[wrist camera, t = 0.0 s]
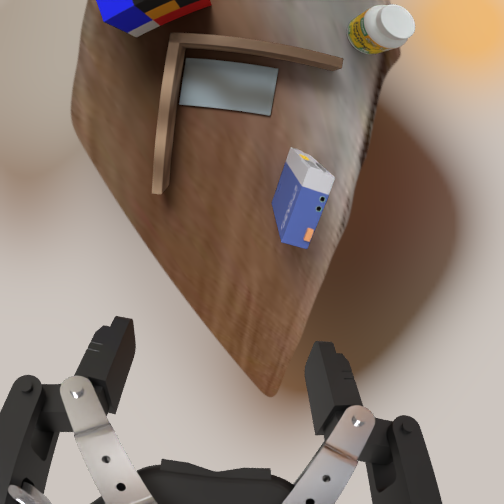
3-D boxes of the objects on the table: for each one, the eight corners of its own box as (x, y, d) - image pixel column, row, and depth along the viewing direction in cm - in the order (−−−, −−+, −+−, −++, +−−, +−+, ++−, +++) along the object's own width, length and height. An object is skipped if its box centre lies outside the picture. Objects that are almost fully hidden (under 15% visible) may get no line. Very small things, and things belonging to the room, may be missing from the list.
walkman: (291, 209, 41) (308, 251, 30) (271, 203, 40) (281, 243, 30) (311, 153, 37) (338, 175, 27) (290, 146, 37) (310, 166, 26)
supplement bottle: (391, 47, 30) (429, 37, 22) (359, 60, 32) (392, 52, 23) (370, 12, 28) (404, -7, 20) (337, 25, 29) (364, 6, 21)
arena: (177, 39, 30) (170, 32, 27) (333, 62, 32) (343, 58, 28) (160, 184, 39) (151, 193, 35) (305, 203, 40) (310, 214, 37)
